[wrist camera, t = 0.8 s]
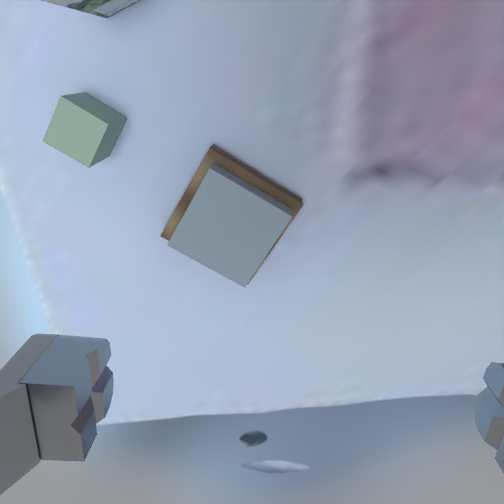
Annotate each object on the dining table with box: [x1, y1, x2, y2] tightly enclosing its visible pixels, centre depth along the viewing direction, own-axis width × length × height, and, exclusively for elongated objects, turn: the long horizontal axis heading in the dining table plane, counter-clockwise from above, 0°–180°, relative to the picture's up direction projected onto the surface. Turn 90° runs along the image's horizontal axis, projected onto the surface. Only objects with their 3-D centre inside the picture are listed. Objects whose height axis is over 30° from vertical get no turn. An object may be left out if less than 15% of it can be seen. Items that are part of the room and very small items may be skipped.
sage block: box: [43, 93, 127, 167], centre depth 45 cm, size 5×5×6 cm
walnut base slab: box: [161, 144, 303, 285], centre depth 50 cm, size 12×12×3 cm
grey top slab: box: [167, 162, 292, 287], centre depth 47 cm, size 10×10×3 cm
